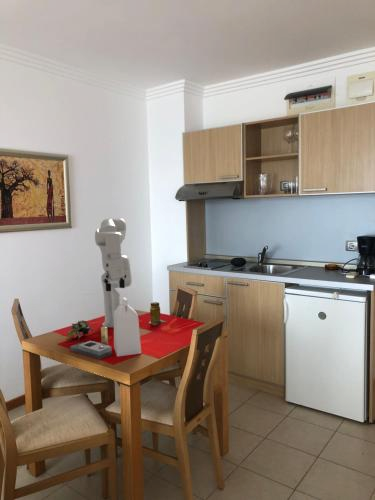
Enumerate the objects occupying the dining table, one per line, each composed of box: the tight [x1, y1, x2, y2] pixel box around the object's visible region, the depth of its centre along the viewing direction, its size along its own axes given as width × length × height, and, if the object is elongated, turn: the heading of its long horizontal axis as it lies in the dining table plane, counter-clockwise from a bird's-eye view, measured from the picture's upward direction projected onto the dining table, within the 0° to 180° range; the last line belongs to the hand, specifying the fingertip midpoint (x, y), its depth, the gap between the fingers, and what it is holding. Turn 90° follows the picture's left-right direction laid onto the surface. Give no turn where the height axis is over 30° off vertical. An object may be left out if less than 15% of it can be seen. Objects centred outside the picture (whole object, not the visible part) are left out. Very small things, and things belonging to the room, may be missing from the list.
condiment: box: [148, 301, 166, 326], centre depth 249 cm, size 7×8×12 cm
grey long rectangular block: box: [69, 340, 113, 360], centre depth 202 cm, size 22×8×5 cm, turn 52°
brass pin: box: [100, 325, 109, 346], centre depth 213 cm, size 3×3×9 cm
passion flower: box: [67, 320, 95, 341], centre depth 224 cm, size 11×11×12 cm
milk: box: [113, 296, 142, 357], centre depth 202 cm, size 12×12×26 cm
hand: (115, 289), depth 215 cm, fingers open, 9 cm apart
